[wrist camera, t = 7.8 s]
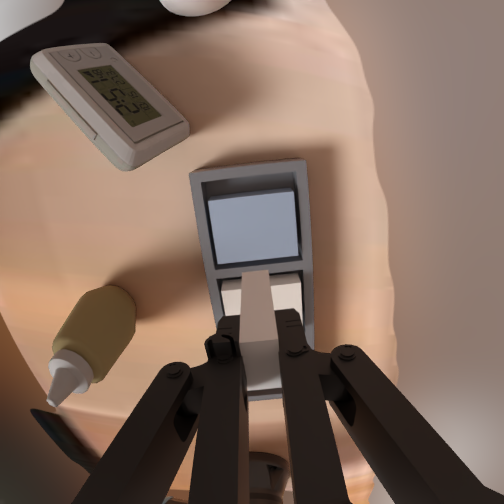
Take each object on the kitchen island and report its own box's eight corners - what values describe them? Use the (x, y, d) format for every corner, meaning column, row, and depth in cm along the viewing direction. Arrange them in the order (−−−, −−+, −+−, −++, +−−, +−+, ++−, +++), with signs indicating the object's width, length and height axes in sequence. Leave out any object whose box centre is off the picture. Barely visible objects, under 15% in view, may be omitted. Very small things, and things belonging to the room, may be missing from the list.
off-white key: (299, 322, 35) (302, 333, 33) (231, 329, 35) (230, 341, 33) (297, 272, 33) (300, 282, 30) (222, 280, 33) (221, 291, 31)
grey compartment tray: (309, 377, 41) (313, 394, 38) (234, 385, 42) (233, 402, 38) (300, 157, 31) (306, 160, 27) (195, 169, 31) (188, 173, 28)
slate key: (294, 247, 33) (298, 255, 30) (219, 255, 33) (217, 264, 31) (290, 187, 30) (293, 191, 28) (210, 196, 31) (207, 201, 28)
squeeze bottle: (83, 276, 35) (3, 361, 19) (138, 276, 35) (70, 376, 19) (97, 328, 38) (39, 421, 21) (149, 331, 38) (104, 438, 21)
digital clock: (199, 137, 30) (176, 137, 20) (132, 183, 32) (87, 204, 22) (129, 28, 25) (87, -6, 15) (69, 76, 26) (14, 64, 17)
